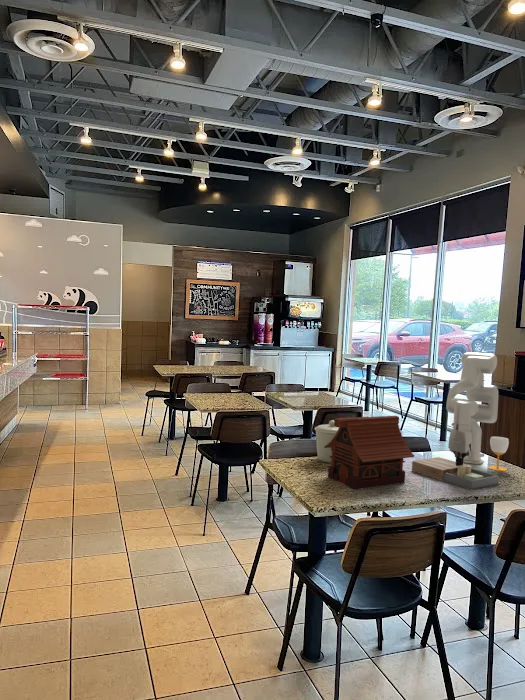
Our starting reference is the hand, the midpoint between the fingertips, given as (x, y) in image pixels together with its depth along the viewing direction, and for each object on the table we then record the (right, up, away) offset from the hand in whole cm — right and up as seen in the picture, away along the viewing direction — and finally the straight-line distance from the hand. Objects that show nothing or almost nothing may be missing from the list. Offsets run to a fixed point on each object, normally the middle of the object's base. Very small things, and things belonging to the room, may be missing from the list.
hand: (459, 465), depth 245 cm
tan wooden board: (-6, -6, +9) cm, 12 cm away
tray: (+3, -7, -5) cm, 9 cm away
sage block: (+4, -3, -6) cm, 8 cm away
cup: (+29, -7, +23) cm, 38 cm away
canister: (-58, -3, +24) cm, 63 cm away
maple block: (+1, -2, -1) cm, 3 cm away
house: (-47, -5, -9) cm, 48 cm away
